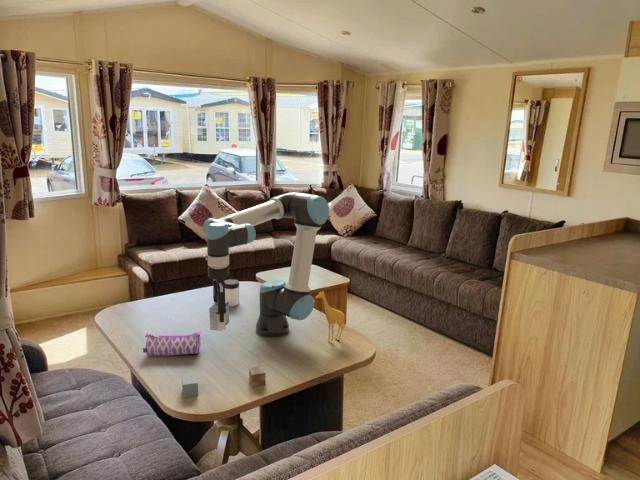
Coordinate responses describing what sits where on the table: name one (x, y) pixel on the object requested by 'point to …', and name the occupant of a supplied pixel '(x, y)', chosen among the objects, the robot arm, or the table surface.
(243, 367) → the table surface
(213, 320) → the medicine box
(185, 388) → the slate grey block
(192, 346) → the pencil case
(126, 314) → the table surface
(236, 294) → the jar
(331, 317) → the giraffe
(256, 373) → the walnut block
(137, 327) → the table surface
